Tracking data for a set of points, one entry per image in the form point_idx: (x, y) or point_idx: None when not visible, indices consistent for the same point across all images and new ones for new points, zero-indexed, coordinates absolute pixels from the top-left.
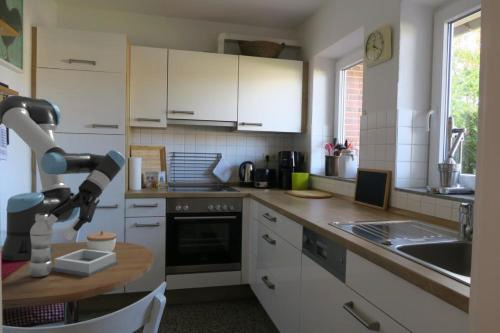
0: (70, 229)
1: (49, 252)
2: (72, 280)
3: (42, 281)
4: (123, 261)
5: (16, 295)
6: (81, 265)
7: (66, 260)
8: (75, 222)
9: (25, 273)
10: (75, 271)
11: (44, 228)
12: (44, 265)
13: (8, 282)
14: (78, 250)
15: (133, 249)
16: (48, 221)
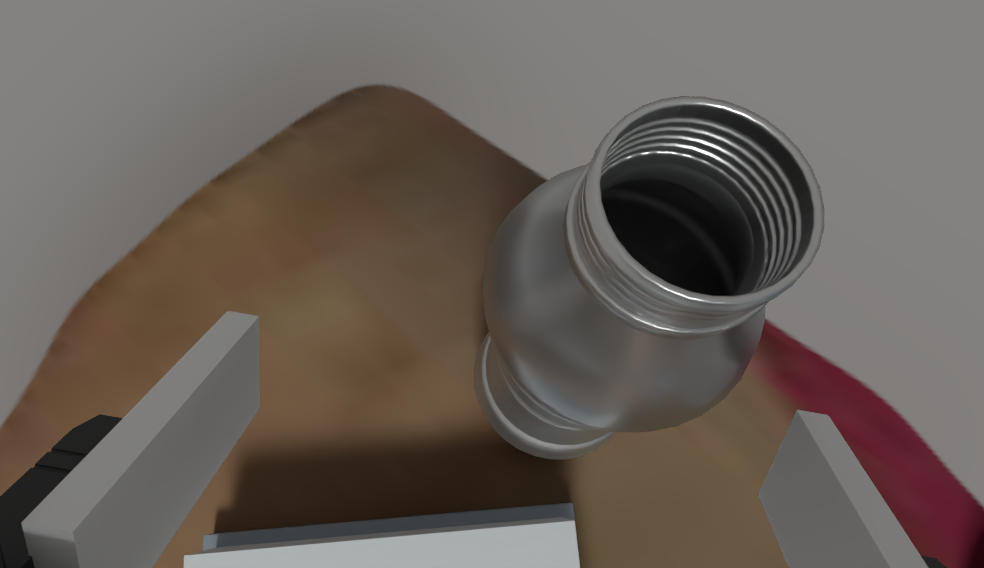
0: (169, 385)
1: (503, 386)
2: (273, 416)
3: (441, 317)
4: None
5: (389, 119)
6: (277, 545)
7: (441, 534)
8: (81, 469)
9: None
10: (339, 524)
11: (515, 225)
12: (484, 344)
13: None
14: None
15: None
16: (863, 563)
